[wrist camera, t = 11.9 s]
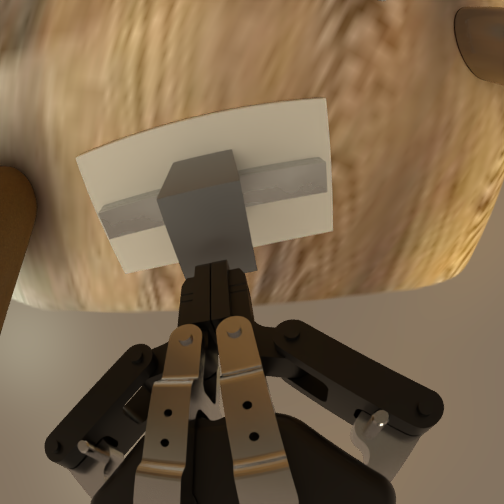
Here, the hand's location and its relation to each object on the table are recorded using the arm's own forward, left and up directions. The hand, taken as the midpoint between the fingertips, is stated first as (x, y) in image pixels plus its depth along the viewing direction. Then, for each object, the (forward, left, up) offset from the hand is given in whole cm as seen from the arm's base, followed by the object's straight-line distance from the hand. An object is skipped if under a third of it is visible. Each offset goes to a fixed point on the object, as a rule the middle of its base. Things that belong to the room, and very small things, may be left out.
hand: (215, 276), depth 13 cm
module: (0, 0, -10) cm, 10 cm away
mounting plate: (0, 0, -11) cm, 11 cm away
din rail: (0, 0, -11) cm, 11 cm away
